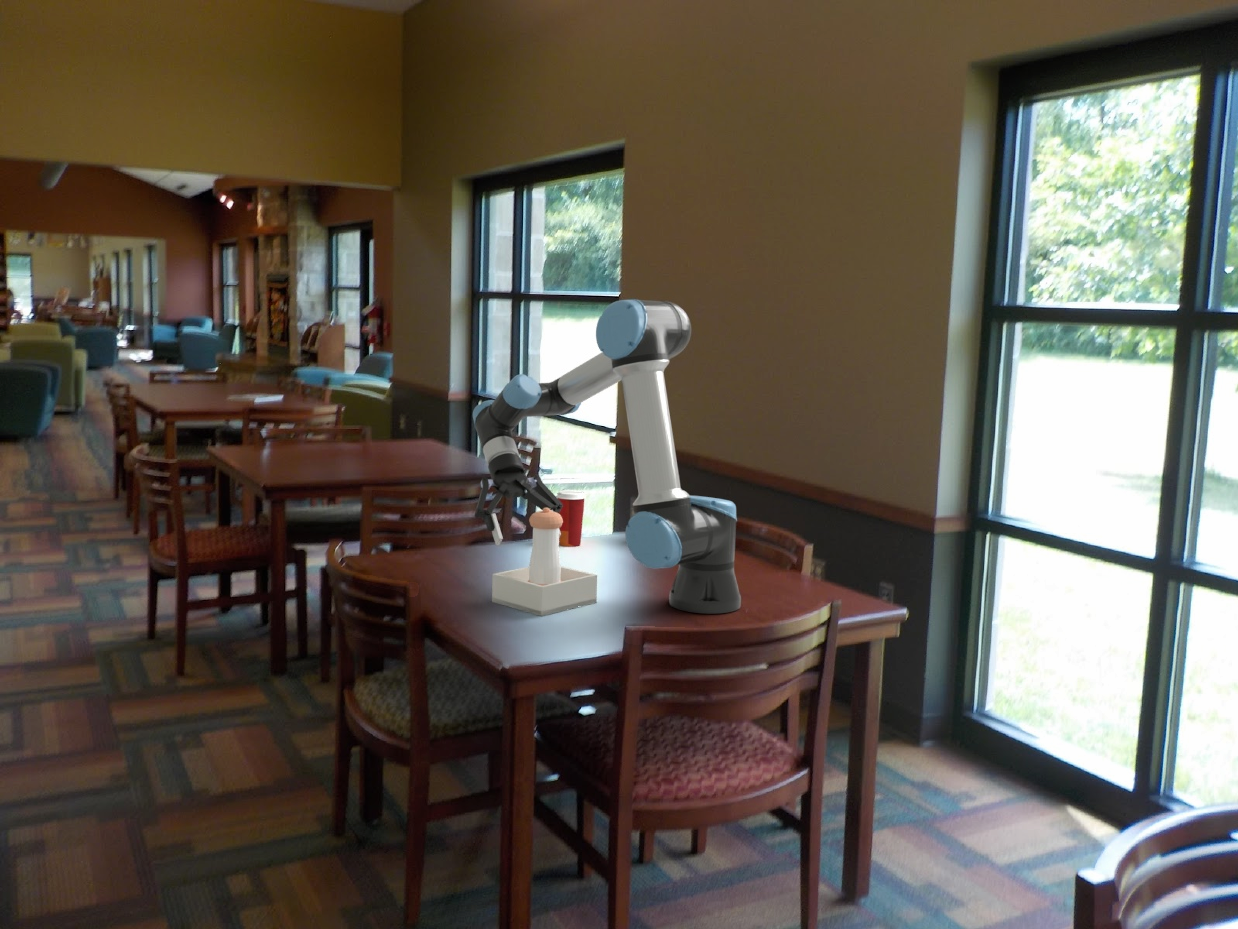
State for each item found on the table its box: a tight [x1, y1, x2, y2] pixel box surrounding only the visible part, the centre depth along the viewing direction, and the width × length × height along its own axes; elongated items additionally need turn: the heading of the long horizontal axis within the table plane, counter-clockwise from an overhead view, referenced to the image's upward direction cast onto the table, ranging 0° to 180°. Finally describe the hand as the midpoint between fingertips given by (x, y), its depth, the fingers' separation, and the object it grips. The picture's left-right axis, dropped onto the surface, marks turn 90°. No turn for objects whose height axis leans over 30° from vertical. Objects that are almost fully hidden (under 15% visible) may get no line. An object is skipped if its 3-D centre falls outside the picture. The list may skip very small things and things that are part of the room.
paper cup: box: [555, 489, 586, 548], centre depth 297 cm, size 8×8×14 cm
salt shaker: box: [528, 508, 563, 586], centre depth 237 cm, size 7×7×19 cm
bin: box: [491, 565, 598, 617], centre depth 238 cm, size 15×16×6 cm
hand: (529, 540), depth 244 cm, fingers open, 13 cm apart
